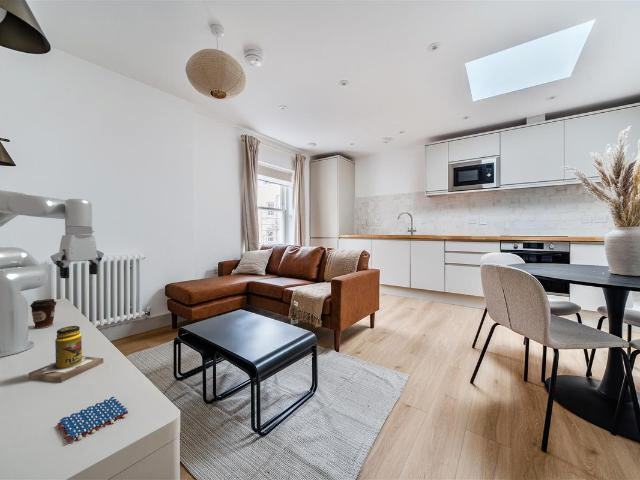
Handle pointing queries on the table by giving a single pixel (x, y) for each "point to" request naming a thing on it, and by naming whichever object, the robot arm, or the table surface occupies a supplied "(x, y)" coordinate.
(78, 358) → the condiment
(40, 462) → the table surface
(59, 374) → the picture frame
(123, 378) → the table surface
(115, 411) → the woven mat
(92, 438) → the table surface
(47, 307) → the coffee cup
